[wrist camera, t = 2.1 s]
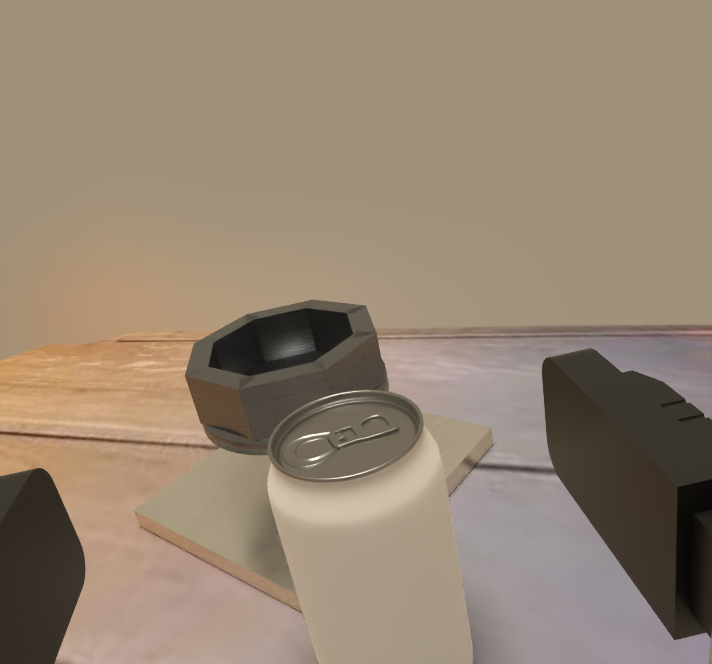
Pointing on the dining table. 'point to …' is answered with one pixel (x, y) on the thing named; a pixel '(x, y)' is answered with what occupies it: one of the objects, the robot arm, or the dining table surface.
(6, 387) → the dining table surface
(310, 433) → the can
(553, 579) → the dining table surface
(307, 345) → the cup bracket
